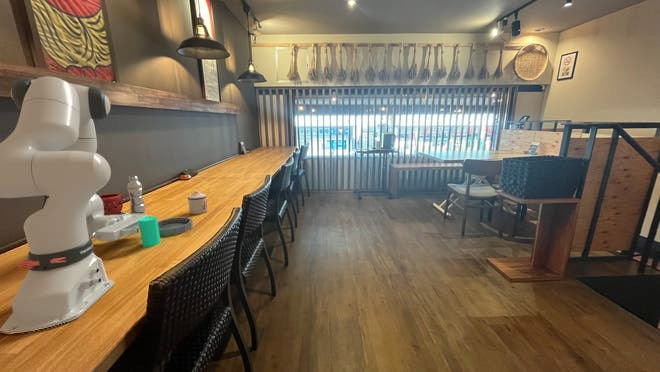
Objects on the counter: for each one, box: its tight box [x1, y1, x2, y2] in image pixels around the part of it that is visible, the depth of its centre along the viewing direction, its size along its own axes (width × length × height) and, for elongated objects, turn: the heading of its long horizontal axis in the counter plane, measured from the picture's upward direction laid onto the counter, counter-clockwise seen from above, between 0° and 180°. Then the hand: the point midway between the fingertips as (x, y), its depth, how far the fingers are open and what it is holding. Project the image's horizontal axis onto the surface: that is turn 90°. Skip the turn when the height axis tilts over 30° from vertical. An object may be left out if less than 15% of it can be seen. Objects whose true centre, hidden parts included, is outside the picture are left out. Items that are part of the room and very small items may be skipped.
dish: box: [157, 216, 194, 237], centre depth 117 cm, size 15×15×3 cm
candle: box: [139, 214, 162, 248], centre depth 101 cm, size 6×6×12 cm
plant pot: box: [98, 193, 124, 215], centre depth 129 cm, size 13×13×12 cm
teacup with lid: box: [187, 190, 208, 215], centre depth 141 cm, size 12×9×12 cm
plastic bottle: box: [126, 175, 147, 214], centre depth 137 cm, size 6×7×20 cm
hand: (146, 226), depth 101 cm, fingers open, 8 cm apart
